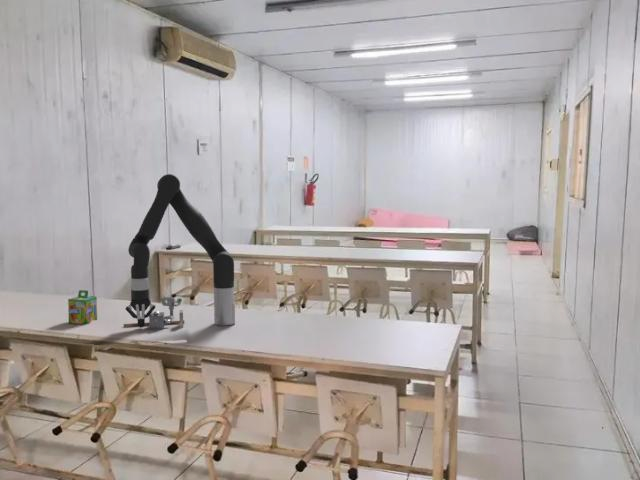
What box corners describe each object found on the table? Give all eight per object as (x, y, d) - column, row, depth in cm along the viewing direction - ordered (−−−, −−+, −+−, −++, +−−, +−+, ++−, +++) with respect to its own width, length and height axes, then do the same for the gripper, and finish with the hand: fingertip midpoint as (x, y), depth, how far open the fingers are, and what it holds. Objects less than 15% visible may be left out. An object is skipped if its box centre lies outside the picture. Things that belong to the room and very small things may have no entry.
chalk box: (68, 323, 244) (66, 292, 242) (80, 319, 253) (79, 288, 251) (86, 324, 242) (84, 293, 241) (98, 319, 251) (96, 289, 250)
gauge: (171, 324, 237) (171, 309, 236) (170, 329, 229) (170, 314, 228) (150, 326, 235) (149, 310, 234) (149, 331, 227) (148, 315, 226)
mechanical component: (180, 319, 252) (179, 298, 251) (160, 318, 254) (159, 297, 253) (182, 317, 255) (182, 297, 254) (163, 316, 257) (162, 296, 256)
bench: (184, 325, 240) (184, 308, 240) (184, 331, 231) (184, 313, 230) (124, 329, 234) (123, 311, 233) (121, 335, 224) (120, 317, 224)
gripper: (156, 285, 234) (157, 324, 236) (124, 287, 231) (126, 325, 233) (155, 289, 227) (156, 328, 229) (123, 290, 224) (124, 330, 226)
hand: (141, 327), depth 231 cm, fingers closed
